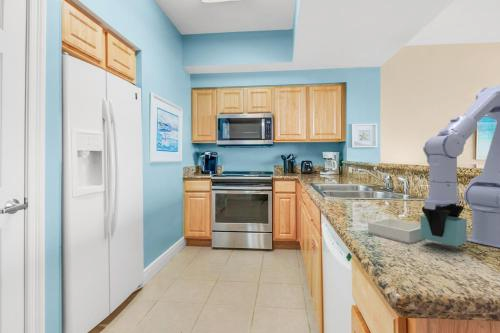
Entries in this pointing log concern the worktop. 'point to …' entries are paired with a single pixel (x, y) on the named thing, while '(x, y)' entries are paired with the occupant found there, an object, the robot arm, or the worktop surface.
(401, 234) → the white crate
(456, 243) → the teal crate
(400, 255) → the worktop surface
